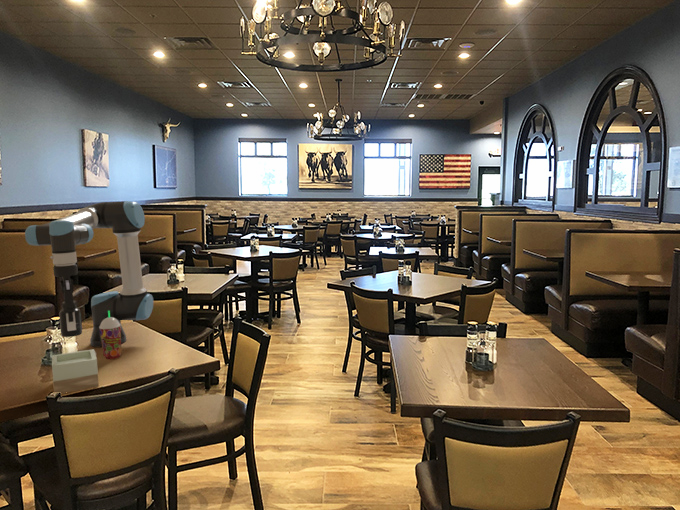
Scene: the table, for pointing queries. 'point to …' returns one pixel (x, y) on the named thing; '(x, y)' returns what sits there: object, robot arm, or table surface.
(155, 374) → the table surface
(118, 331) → the smoothie
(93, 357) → the tower top block
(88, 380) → the tower base block
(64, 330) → the supplement bottle
